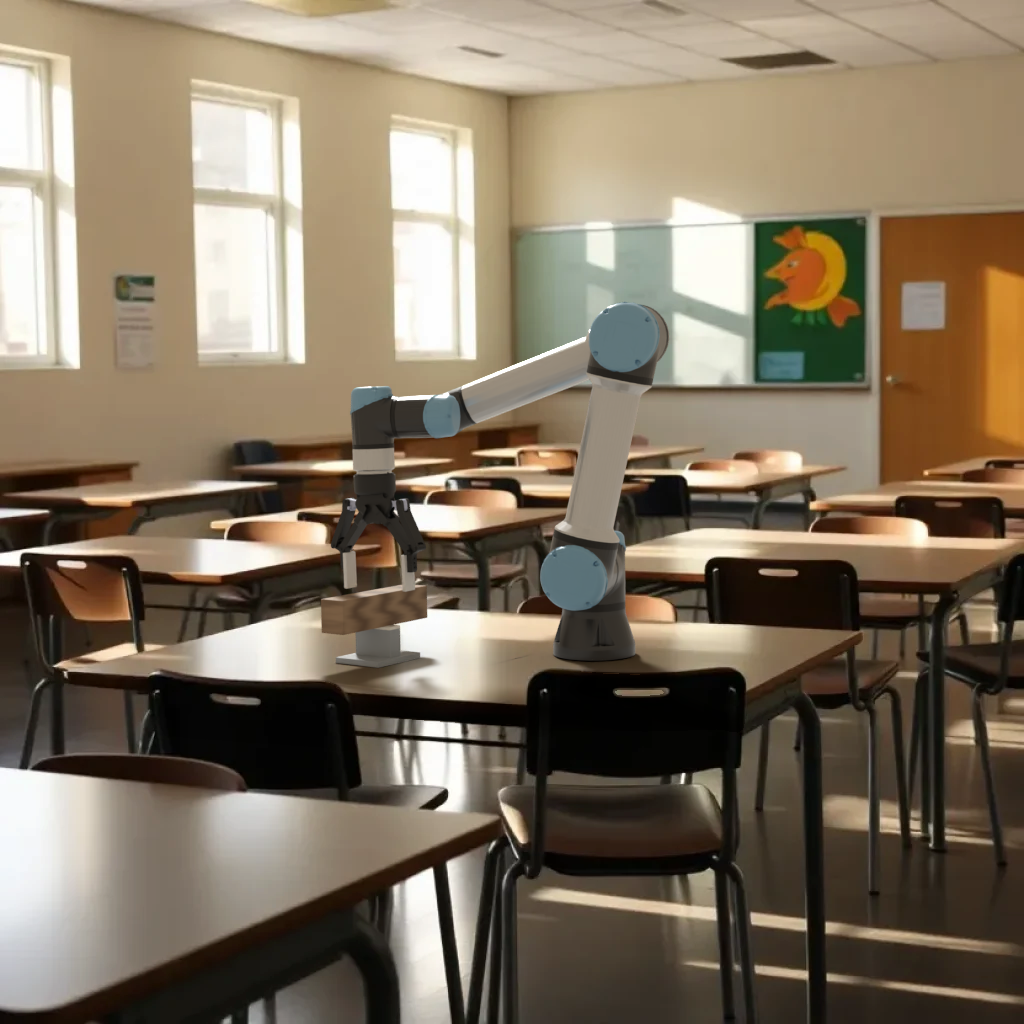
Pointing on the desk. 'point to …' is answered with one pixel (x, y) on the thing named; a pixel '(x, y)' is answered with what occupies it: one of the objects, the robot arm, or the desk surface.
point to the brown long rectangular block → (372, 609)
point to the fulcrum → (378, 648)
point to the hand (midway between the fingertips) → (379, 589)
